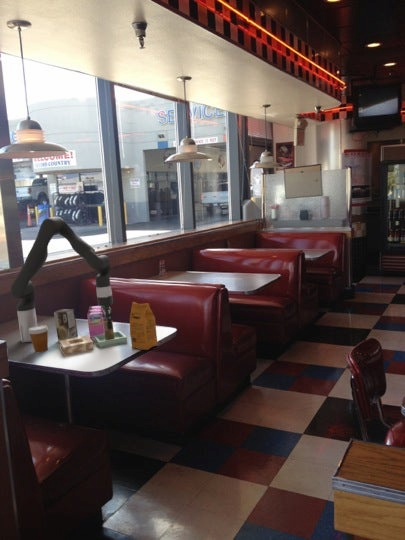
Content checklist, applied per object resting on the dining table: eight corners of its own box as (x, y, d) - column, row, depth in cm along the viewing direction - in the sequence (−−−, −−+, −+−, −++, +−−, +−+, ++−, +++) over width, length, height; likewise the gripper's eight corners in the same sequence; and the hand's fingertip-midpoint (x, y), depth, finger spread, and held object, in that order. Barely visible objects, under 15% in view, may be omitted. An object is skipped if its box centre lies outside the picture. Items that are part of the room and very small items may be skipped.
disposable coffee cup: (40, 354, 244) (36, 330, 242) (27, 352, 249) (24, 329, 248) (55, 348, 252) (51, 325, 250) (42, 346, 257) (39, 324, 256)
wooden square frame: (64, 355, 239) (63, 347, 238) (60, 348, 252) (59, 340, 251) (93, 349, 244) (92, 341, 244) (88, 342, 257) (87, 335, 256)
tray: (99, 348, 245) (99, 342, 245) (94, 341, 258) (93, 336, 258) (127, 342, 251) (126, 336, 250) (120, 336, 264) (119, 330, 263)
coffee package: (143, 342, 249) (138, 299, 245) (160, 345, 241) (156, 301, 237) (128, 348, 241) (123, 304, 238) (145, 351, 233) (140, 305, 230)
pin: (106, 342, 251) (103, 319, 250) (104, 340, 256) (101, 317, 254) (115, 340, 253) (112, 317, 252) (113, 338, 257) (110, 316, 256)
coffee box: (78, 338, 268) (74, 309, 265) (70, 341, 262) (66, 312, 259) (65, 337, 271) (61, 308, 269) (57, 341, 266) (53, 311, 263)
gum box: (93, 328, 286) (90, 305, 284) (107, 326, 288) (104, 303, 285) (89, 339, 263) (86, 314, 261) (105, 337, 264) (101, 312, 262)
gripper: (94, 294, 256) (98, 325, 258) (100, 298, 243) (104, 331, 245) (108, 291, 259) (112, 323, 261) (115, 296, 246) (119, 328, 248)
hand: (108, 327), depth 253 cm, fingers open, 6 cm apart
